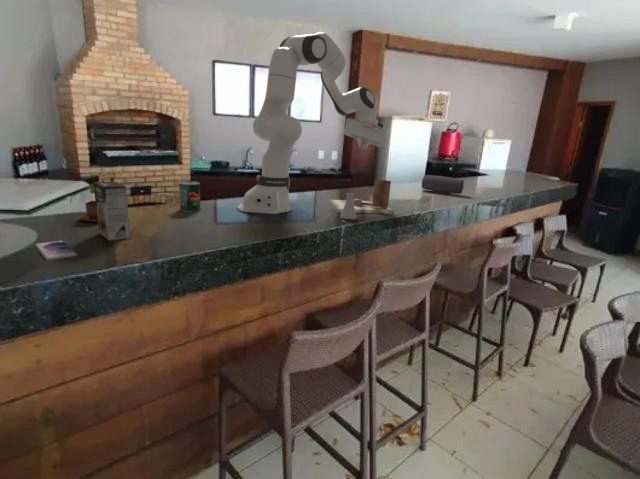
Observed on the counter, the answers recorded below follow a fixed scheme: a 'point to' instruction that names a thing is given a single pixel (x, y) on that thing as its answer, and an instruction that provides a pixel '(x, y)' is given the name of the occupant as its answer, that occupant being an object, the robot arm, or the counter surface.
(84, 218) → the cup and saucer
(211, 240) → the counter surface
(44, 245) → the smartphone
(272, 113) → the robot arm
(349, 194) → the flask
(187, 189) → the canned tomato
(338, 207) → the dial board
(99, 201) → the coffee box
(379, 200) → the dial fin
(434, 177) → the bluetooth speaker
